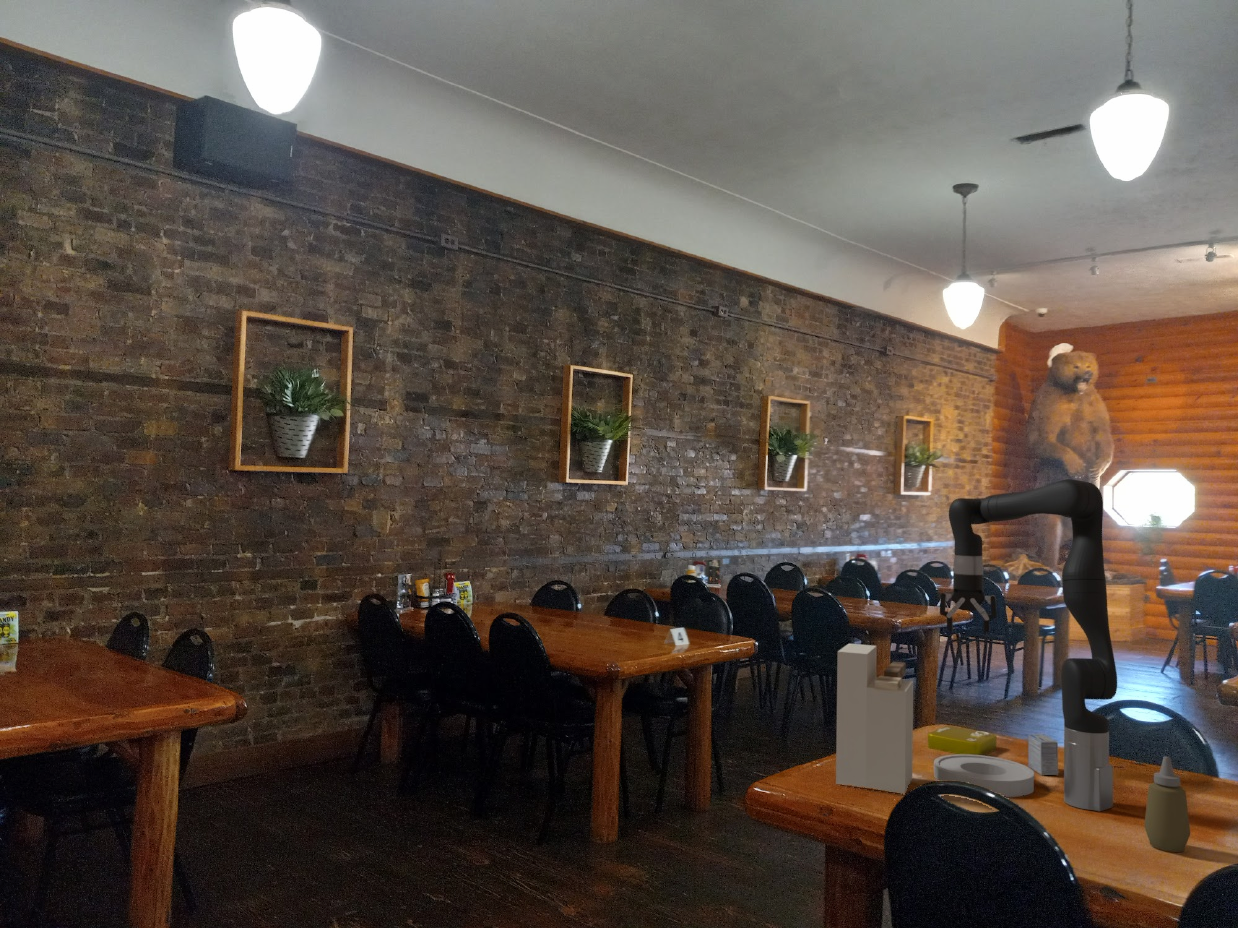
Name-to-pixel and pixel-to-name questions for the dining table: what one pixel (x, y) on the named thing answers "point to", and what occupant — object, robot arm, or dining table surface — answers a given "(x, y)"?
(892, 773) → the display stand
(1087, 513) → the robot arm
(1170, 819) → the squeeze bottle
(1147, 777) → the dining table surface
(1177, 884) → the dining table surface
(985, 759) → the ashtray
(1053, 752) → the medicine box
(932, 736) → the element tile
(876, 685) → the brown bar
